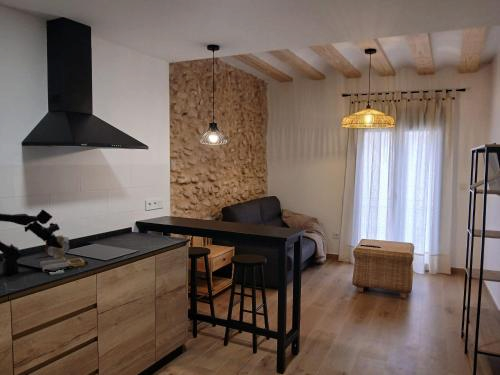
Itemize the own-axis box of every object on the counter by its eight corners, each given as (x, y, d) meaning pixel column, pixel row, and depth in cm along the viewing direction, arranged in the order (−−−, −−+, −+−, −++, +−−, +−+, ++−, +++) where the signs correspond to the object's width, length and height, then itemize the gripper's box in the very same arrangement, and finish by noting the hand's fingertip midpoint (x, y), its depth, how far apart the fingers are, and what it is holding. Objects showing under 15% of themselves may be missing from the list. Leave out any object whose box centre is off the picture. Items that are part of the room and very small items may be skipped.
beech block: (54, 260, 220) (54, 237, 219) (53, 258, 224) (52, 236, 223) (64, 258, 223) (63, 236, 222) (62, 257, 227) (62, 235, 226)
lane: (42, 271, 215) (42, 266, 215) (40, 266, 223) (40, 261, 223) (69, 267, 223) (68, 262, 223) (65, 263, 231) (65, 258, 231)
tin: (68, 252, 256) (68, 239, 255) (70, 253, 254) (70, 240, 253) (44, 256, 244) (44, 243, 243) (46, 257, 242) (46, 244, 241)
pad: (50, 275, 209) (50, 274, 209) (48, 271, 215) (48, 270, 215) (64, 272, 213) (64, 271, 213) (62, 269, 219) (62, 268, 219)
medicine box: (63, 249, 263) (63, 236, 262) (69, 249, 262) (68, 237, 261) (54, 252, 255) (54, 239, 255) (60, 252, 254) (59, 239, 253)
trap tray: (70, 267, 223) (69, 264, 223) (66, 263, 231) (66, 259, 231) (84, 265, 228) (84, 262, 228) (80, 261, 236) (80, 258, 236)
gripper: (52, 222, 212) (74, 239, 219) (47, 217, 227) (68, 233, 234) (36, 237, 208) (59, 254, 215) (32, 231, 223) (54, 247, 231)
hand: (61, 247), depth 224 cm, fingers closed on beech block, 5 cm apart
